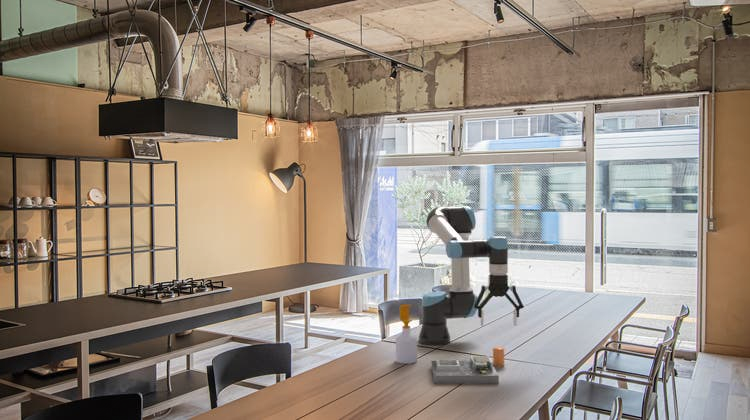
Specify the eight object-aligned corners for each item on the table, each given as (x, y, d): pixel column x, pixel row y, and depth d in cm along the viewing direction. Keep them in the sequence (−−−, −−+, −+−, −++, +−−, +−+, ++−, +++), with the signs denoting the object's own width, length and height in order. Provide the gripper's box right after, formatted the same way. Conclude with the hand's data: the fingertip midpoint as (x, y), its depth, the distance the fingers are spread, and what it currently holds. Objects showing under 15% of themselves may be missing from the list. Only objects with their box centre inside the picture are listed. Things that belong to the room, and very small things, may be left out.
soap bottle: (399, 365, 257) (399, 306, 256) (393, 359, 265) (392, 302, 264) (420, 363, 259) (419, 305, 258) (413, 357, 268) (412, 301, 267)
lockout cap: (492, 363, 257) (492, 347, 257) (503, 363, 257) (503, 347, 257) (493, 366, 253) (493, 349, 252) (505, 366, 253) (505, 349, 252)
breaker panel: (431, 368, 252) (431, 352, 252) (490, 367, 251) (490, 352, 251) (434, 383, 232) (434, 367, 232) (498, 383, 231) (498, 367, 231)
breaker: (473, 362, 246) (473, 356, 247) (486, 362, 246) (485, 356, 247) (476, 361, 238) (476, 355, 238) (489, 361, 237) (488, 355, 238)
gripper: (469, 275, 250) (469, 327, 251) (530, 275, 249) (530, 327, 250) (467, 272, 258) (467, 323, 258) (526, 272, 257) (527, 323, 258)
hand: (498, 325), depth 254 cm, fingers open, 13 cm apart
